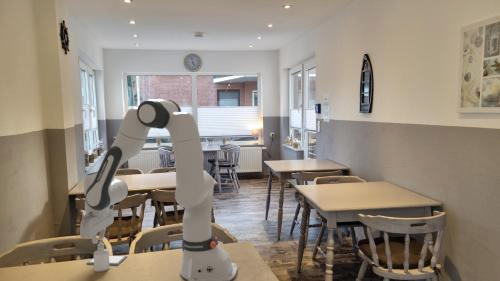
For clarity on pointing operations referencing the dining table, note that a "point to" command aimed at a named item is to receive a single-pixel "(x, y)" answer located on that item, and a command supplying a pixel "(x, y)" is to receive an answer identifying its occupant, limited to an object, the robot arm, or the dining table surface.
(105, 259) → the eye dropper bottle
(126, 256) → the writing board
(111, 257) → the paper
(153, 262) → the dining table surface
